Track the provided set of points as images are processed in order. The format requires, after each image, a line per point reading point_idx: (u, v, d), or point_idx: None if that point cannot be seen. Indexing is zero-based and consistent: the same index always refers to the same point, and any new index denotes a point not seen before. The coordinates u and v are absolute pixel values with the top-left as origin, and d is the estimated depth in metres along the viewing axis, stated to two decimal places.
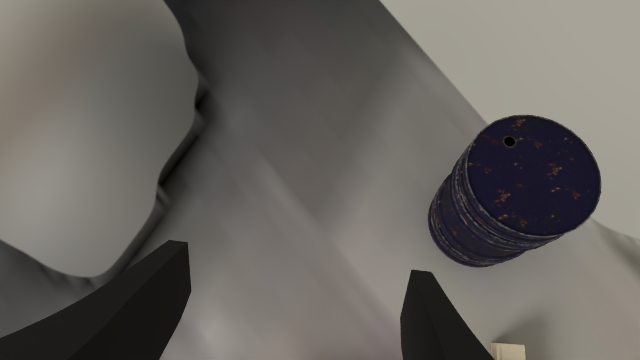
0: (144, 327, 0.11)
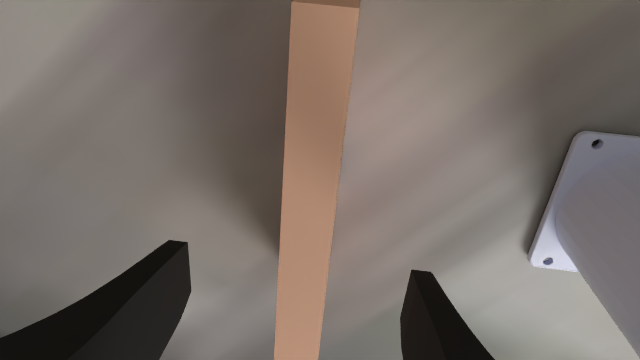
0: (144, 327, 0.11)
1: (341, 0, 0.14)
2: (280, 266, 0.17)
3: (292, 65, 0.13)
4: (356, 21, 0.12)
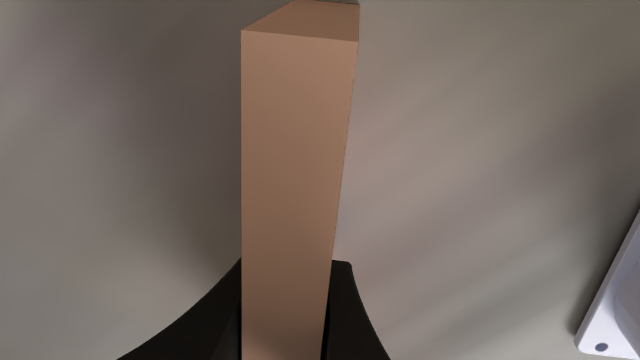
0: (239, 339, 0.11)
1: (329, 22, 0.09)
2: None
3: (247, 132, 0.08)
4: (353, 63, 0.07)
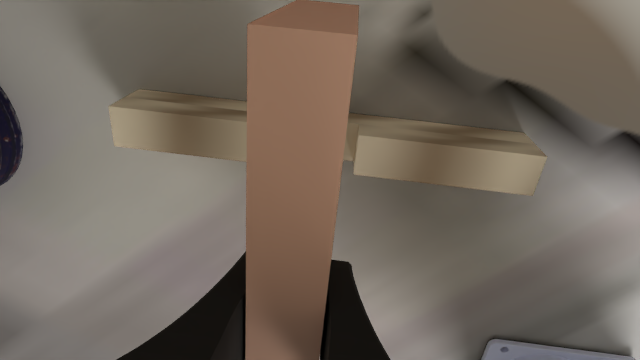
0: (239, 339, 0.11)
1: (330, 19, 0.09)
2: None
3: (253, 121, 0.08)
4: (353, 55, 0.08)
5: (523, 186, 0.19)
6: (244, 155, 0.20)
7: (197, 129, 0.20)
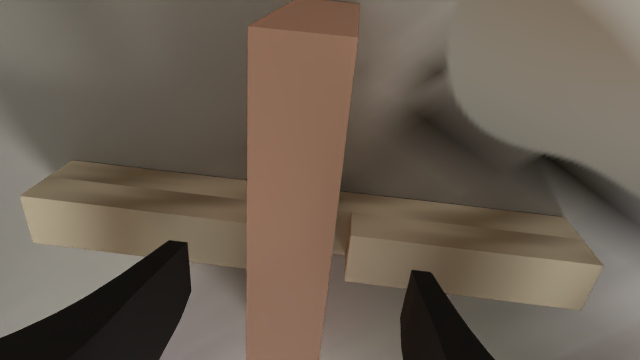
0: (144, 327, 0.11)
1: (331, 19, 0.09)
2: None
3: (253, 123, 0.08)
4: (353, 58, 0.08)
5: (569, 299, 0.15)
6: (201, 256, 0.15)
7: (138, 225, 0.15)
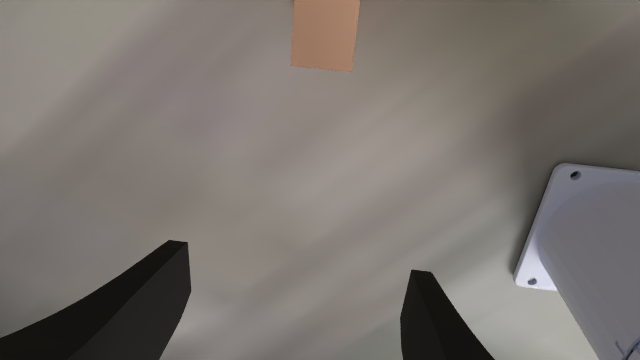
0: (144, 327, 0.11)
1: None
2: None
3: None
4: None
5: None
6: None
7: None
